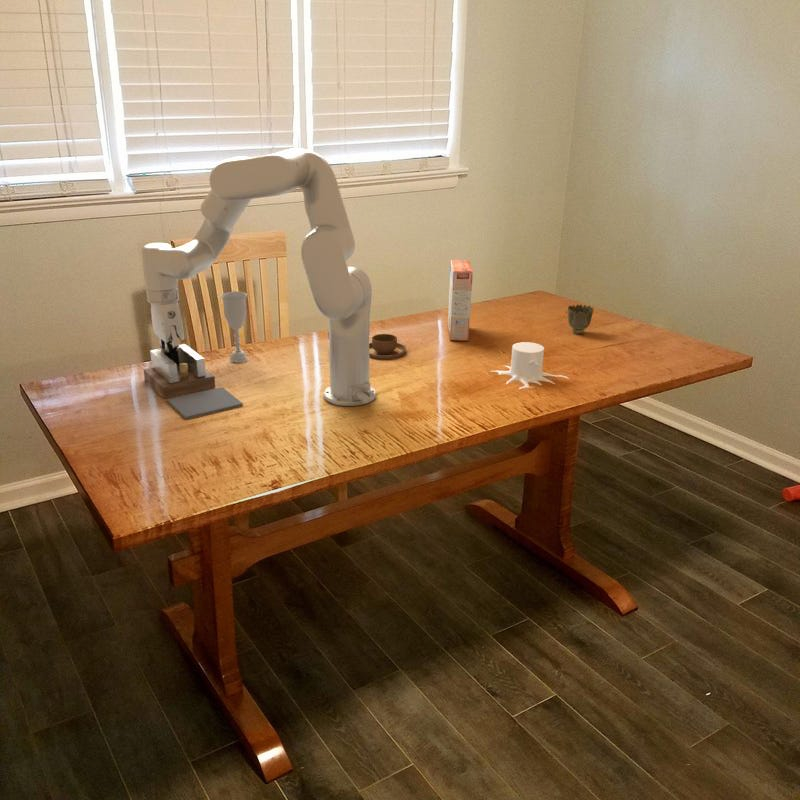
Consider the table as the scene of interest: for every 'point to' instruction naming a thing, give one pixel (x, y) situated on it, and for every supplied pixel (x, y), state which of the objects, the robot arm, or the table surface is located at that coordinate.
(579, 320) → the cup
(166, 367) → the c link
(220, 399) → the mat
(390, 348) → the place setting
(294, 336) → the table surface
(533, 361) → the tree stump
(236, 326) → the chalice
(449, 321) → the cracker box
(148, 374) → the stand
